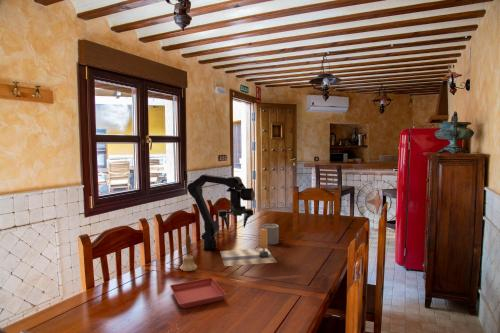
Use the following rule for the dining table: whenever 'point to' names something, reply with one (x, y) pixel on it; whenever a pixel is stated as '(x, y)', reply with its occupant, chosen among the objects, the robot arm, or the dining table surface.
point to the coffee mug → (272, 233)
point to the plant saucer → (197, 292)
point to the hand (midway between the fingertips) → (235, 228)
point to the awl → (263, 243)
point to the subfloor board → (245, 257)
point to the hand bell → (188, 258)
